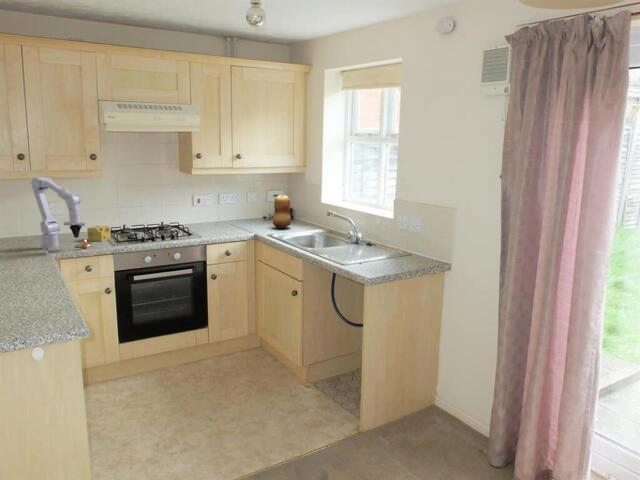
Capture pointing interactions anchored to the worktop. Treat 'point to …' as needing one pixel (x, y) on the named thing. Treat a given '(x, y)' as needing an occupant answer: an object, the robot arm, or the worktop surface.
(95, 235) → the cheese
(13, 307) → the worktop surface
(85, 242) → the cam capstan
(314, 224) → the worktop surface
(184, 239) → the worktop surface
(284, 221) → the butternut squash
